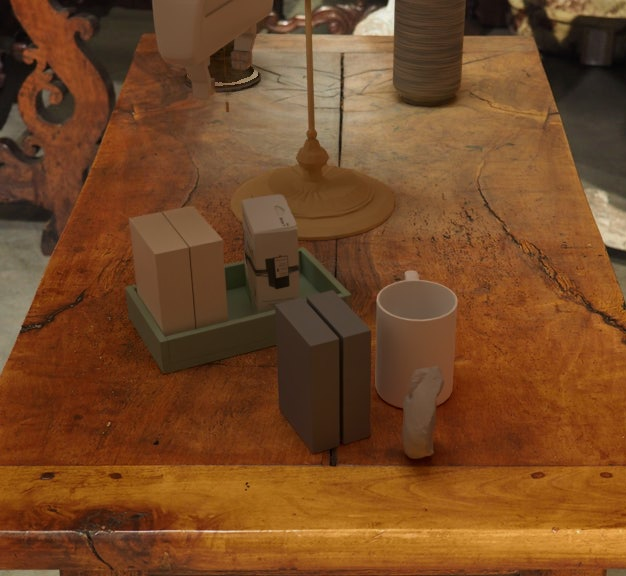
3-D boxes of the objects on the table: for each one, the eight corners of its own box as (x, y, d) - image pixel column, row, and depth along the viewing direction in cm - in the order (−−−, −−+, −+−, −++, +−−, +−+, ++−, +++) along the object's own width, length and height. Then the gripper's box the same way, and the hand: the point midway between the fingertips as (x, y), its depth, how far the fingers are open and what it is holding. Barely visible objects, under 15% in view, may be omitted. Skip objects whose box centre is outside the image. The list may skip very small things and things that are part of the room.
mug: (457, 410, 106) (462, 319, 100) (377, 412, 105) (378, 321, 100) (444, 343, 116) (448, 258, 111) (371, 345, 116) (372, 259, 111)
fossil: (431, 482, 96) (436, 391, 91) (393, 475, 97) (396, 385, 92) (443, 443, 101) (448, 354, 96) (407, 437, 102) (410, 349, 97)
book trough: (163, 374, 110) (160, 342, 108) (128, 317, 120) (124, 286, 118) (351, 325, 119) (351, 294, 117) (304, 275, 129) (304, 246, 127)
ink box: (244, 289, 124) (239, 196, 118) (286, 284, 125) (283, 191, 119) (257, 328, 116) (252, 231, 110) (302, 322, 118) (299, 225, 112)
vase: (409, 113, 177) (414, -28, 165) (381, 90, 186) (383, -45, 174) (472, 104, 181) (480, -34, 169) (441, 82, 190) (447, -50, 179)
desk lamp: (192, 246, 135) (165, -85, 115) (203, 171, 155) (182, -121, 135) (436, 240, 137) (451, -85, 117) (416, 167, 157) (426, -121, 137)
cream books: (165, 356, 111) (154, 254, 105) (139, 315, 118) (128, 217, 112) (229, 339, 114) (223, 239, 108) (201, 301, 121) (193, 205, 115)
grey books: (312, 454, 99) (310, 346, 93) (278, 408, 106) (274, 304, 100) (370, 436, 102) (371, 329, 96) (333, 392, 108) (333, 289, 102)
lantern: (174, 90, 184) (161, -59, 172) (190, 64, 196) (179, -77, 184) (255, 93, 184) (249, -57, 171) (266, 66, 196) (261, -75, 184)
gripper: (229, -81, 111) (236, 49, 118) (135, -38, 94) (149, 111, 101) (286, -77, 110) (289, 55, 117) (201, -32, 93) (211, 119, 100)
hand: (224, 81), depth 109 cm, fingers open, 8 cm apart
